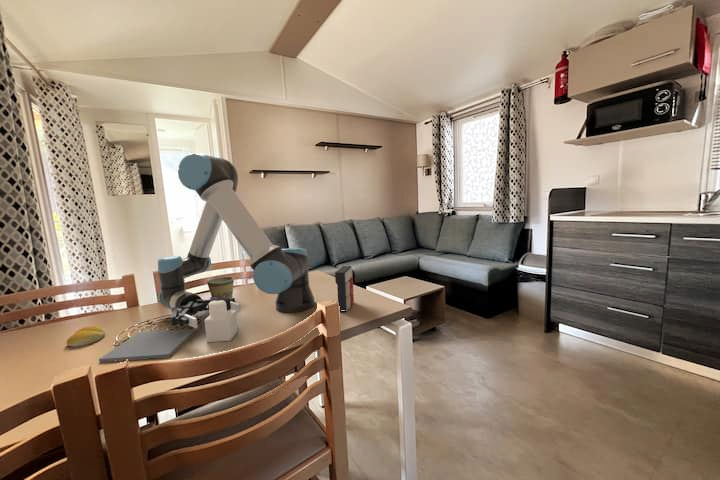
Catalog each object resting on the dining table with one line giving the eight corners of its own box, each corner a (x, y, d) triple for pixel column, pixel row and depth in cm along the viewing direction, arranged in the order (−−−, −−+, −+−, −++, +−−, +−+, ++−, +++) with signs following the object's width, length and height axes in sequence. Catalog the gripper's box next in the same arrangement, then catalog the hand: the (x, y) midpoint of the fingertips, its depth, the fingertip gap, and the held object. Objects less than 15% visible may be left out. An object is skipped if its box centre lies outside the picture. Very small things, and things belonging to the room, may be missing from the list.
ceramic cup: (229, 306, 117) (227, 282, 116) (204, 307, 117) (202, 283, 116) (242, 296, 130) (240, 274, 129) (220, 297, 130) (218, 275, 129)
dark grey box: (348, 312, 107) (346, 272, 105) (336, 312, 108) (334, 272, 106) (354, 302, 118) (353, 265, 116) (344, 301, 118) (342, 265, 116)
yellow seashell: (62, 350, 86) (59, 337, 86) (78, 337, 95) (76, 325, 94) (96, 344, 89) (94, 332, 89) (109, 332, 97) (108, 321, 97)
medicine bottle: (215, 332, 94) (211, 296, 93) (238, 330, 95) (235, 295, 93) (206, 342, 87) (201, 304, 86) (230, 341, 88) (226, 302, 86)
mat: (197, 331, 95) (197, 328, 95) (169, 357, 79) (169, 354, 79) (139, 335, 94) (138, 332, 94) (99, 362, 78) (98, 359, 78)
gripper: (221, 302, 113) (254, 313, 101) (146, 326, 93) (176, 343, 81) (219, 284, 112) (253, 292, 100) (143, 303, 92) (172, 317, 80)
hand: (218, 315), depth 90 cm, fingers open, 13 cm apart
